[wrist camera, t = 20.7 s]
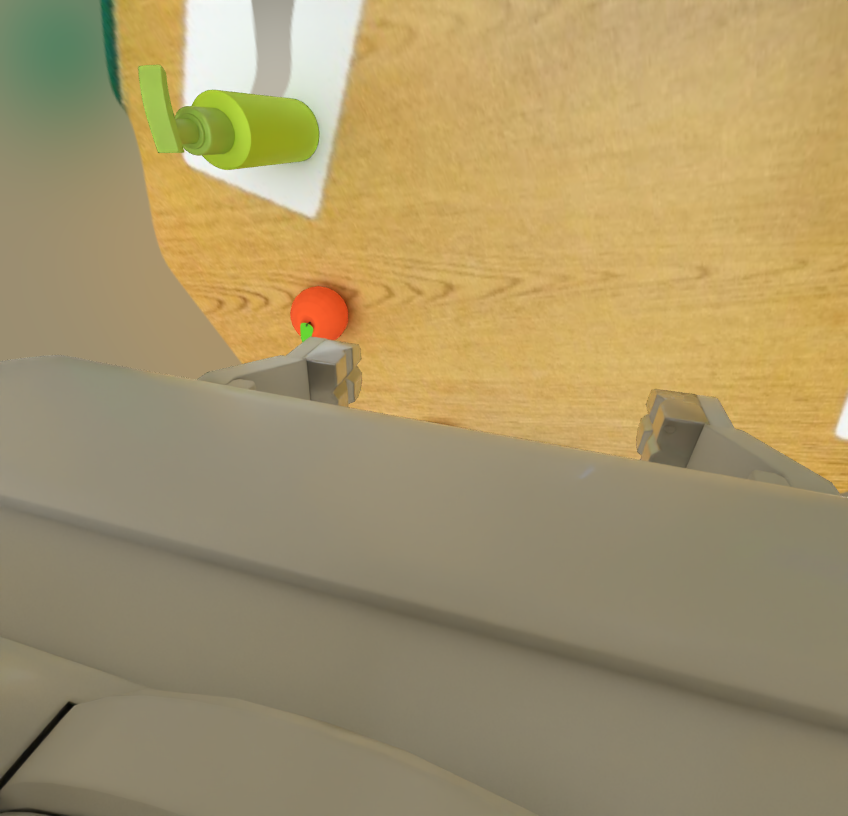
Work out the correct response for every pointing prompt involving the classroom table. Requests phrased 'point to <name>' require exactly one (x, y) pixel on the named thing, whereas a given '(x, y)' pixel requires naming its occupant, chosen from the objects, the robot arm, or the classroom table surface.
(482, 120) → the classroom table surface
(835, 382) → the classroom table surface
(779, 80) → the classroom table surface
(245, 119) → the soap dispenser
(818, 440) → the classroom table surface
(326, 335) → the clementine
